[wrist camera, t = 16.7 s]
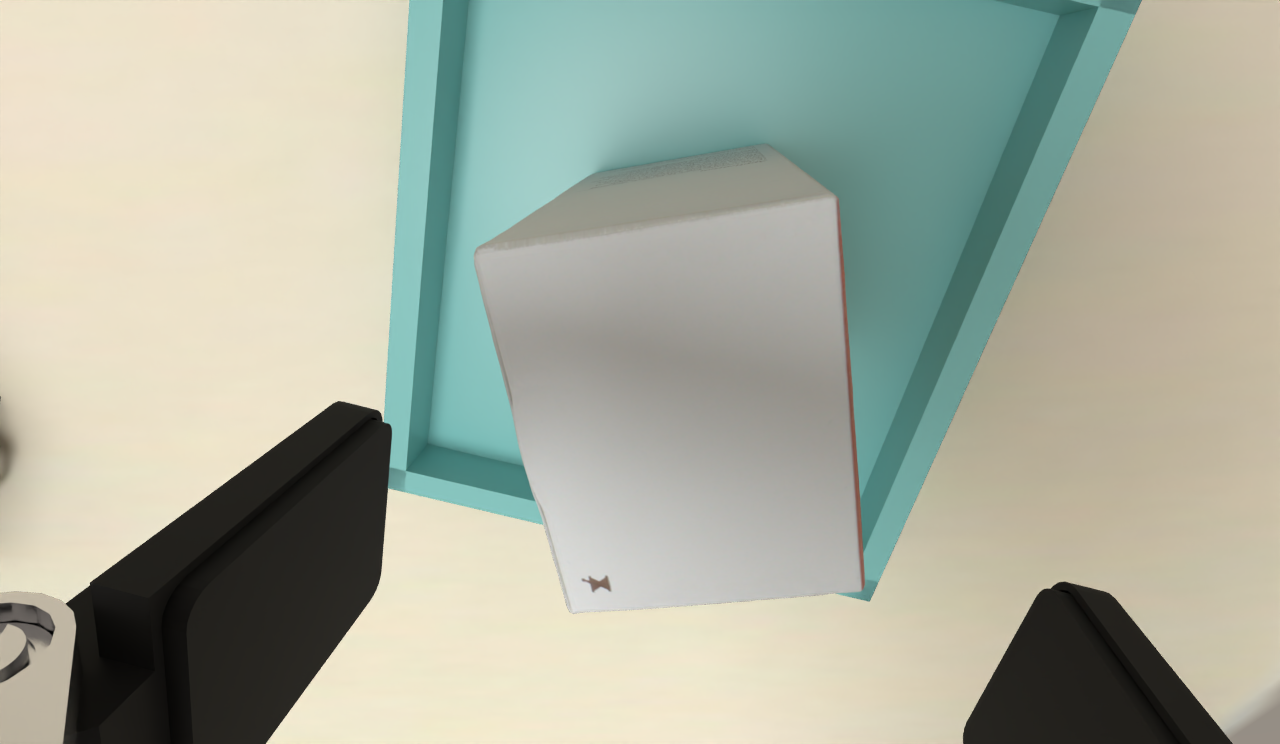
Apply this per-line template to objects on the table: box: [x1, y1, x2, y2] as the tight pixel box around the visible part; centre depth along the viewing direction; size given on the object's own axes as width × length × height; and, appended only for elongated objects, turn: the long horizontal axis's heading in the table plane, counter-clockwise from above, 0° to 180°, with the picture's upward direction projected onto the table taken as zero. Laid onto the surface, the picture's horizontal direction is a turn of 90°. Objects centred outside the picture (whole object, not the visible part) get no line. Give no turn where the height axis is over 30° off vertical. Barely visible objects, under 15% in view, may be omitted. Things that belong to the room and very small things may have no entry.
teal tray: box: [384, 0, 1142, 602], centre depth 23 cm, size 20×22×3 cm
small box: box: [474, 144, 865, 614], centre depth 18 cm, size 8×6×13 cm
